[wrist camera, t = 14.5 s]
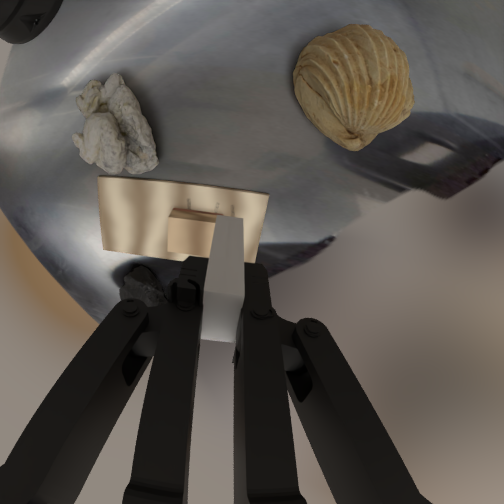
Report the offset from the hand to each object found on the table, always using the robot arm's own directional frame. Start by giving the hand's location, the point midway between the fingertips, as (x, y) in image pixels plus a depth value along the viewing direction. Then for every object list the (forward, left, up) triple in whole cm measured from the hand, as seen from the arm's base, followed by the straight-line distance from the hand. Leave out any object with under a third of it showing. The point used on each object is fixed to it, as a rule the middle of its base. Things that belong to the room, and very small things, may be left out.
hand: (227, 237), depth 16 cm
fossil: (+13, +13, -27) cm, 32 cm away
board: (-8, -13, -26) cm, 31 cm away
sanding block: (-5, -13, -26) cm, 29 cm away
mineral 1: (-18, +2, -27) cm, 32 cm away
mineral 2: (-14, -28, -27) cm, 41 cm away
